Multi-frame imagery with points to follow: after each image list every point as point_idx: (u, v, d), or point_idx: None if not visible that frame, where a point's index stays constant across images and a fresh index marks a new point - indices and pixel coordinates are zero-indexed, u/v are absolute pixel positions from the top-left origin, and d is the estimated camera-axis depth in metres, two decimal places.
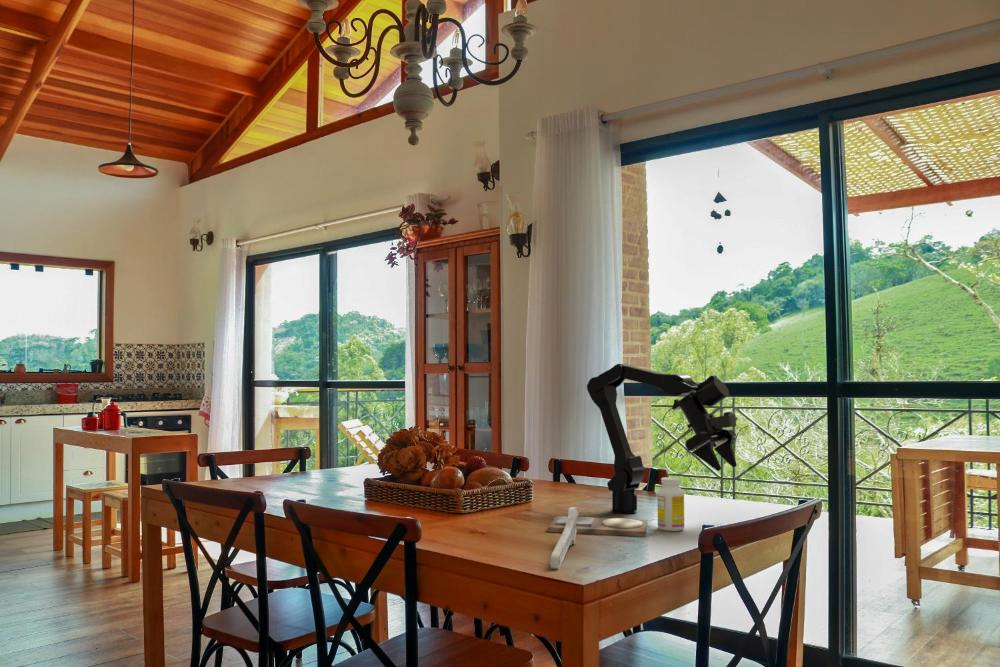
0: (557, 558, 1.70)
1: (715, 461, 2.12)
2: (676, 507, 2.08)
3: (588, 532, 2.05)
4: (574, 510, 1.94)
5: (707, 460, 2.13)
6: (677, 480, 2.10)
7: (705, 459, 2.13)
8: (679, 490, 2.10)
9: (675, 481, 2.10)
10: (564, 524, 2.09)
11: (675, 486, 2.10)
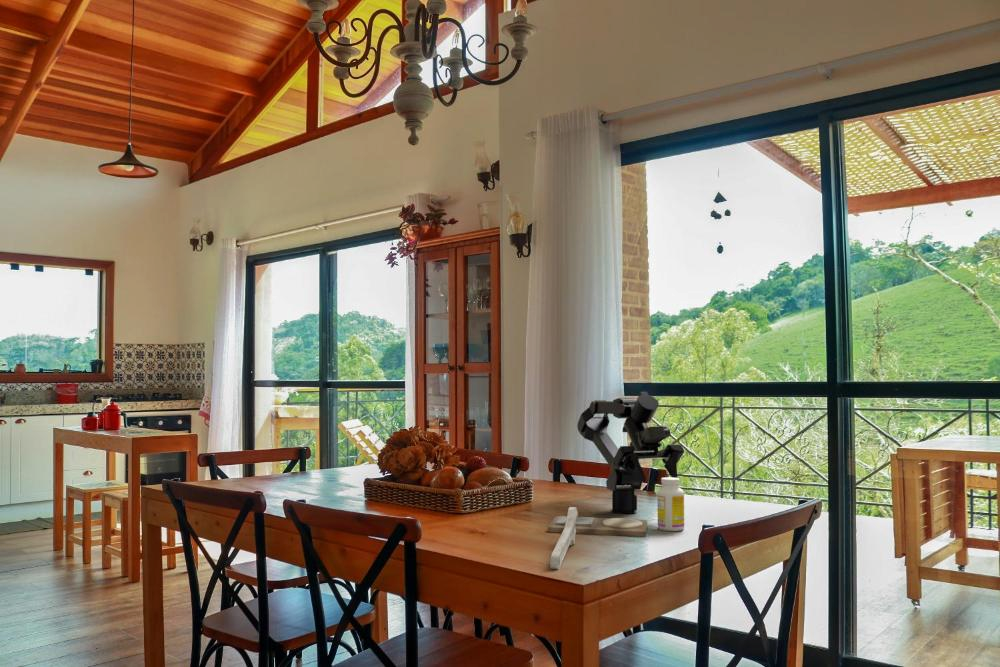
0: (557, 558, 1.70)
1: (639, 473, 2.16)
2: (676, 507, 2.08)
3: (588, 532, 2.05)
4: (574, 510, 1.94)
5: (635, 473, 2.18)
6: (677, 480, 2.10)
7: (633, 472, 2.18)
8: (679, 490, 2.10)
9: (675, 481, 2.10)
10: (564, 524, 2.09)
11: (675, 486, 2.10)
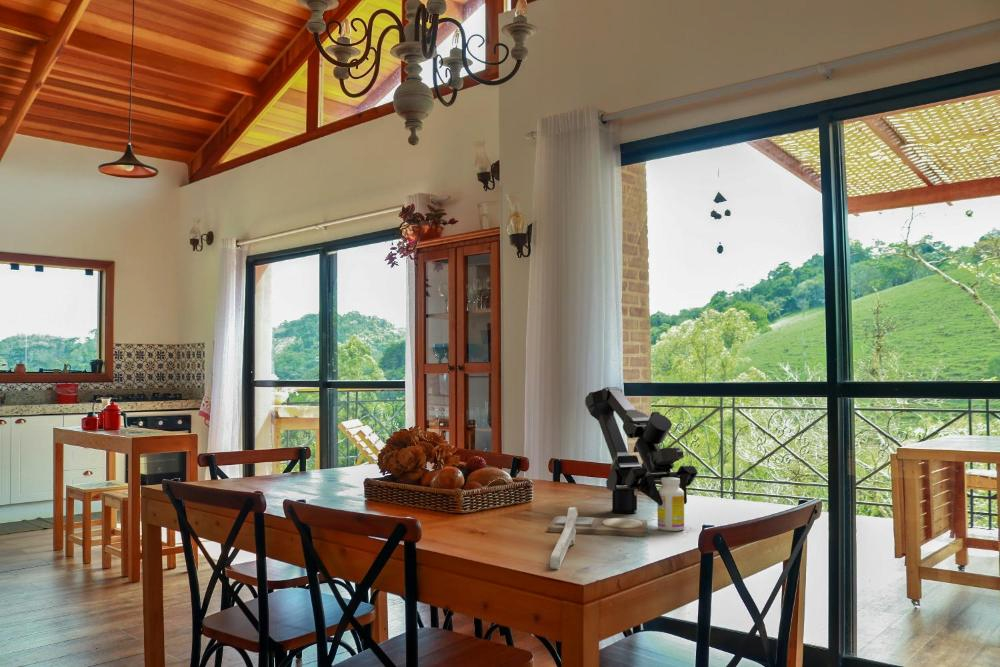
0: (557, 558, 1.70)
1: (656, 495, 2.10)
2: (676, 507, 2.08)
3: (588, 532, 2.05)
4: (573, 510, 1.94)
5: (651, 496, 2.12)
6: (677, 480, 2.10)
7: (649, 495, 2.12)
8: (679, 490, 2.10)
9: (675, 481, 2.10)
10: (564, 524, 2.09)
11: (675, 486, 2.10)
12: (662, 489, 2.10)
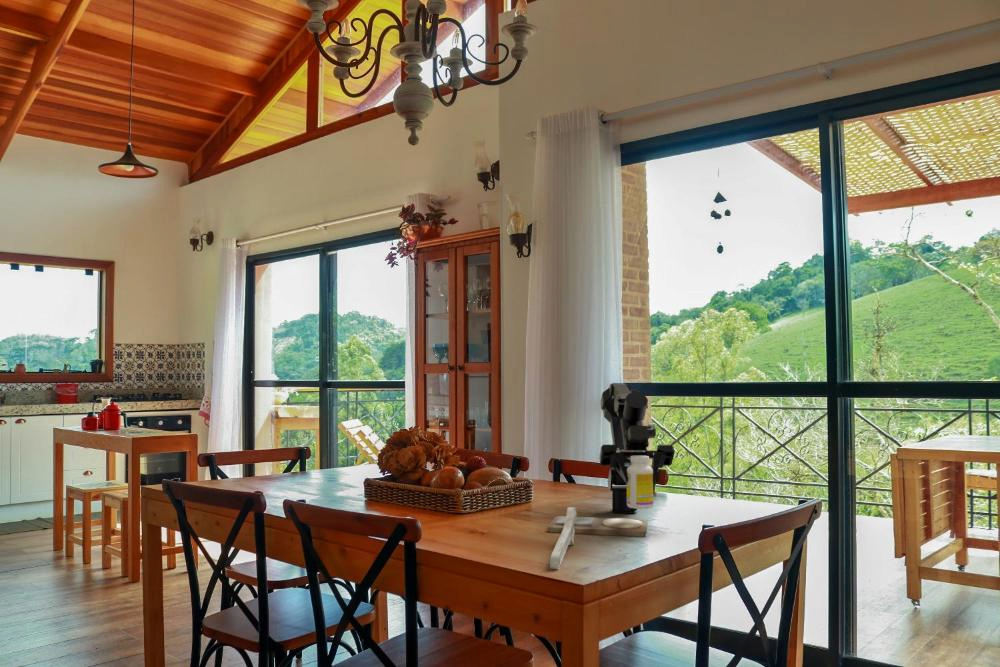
0: (557, 558, 1.70)
1: (622, 472, 2.11)
2: (640, 484, 2.07)
3: (588, 532, 2.05)
4: (572, 510, 1.94)
5: (620, 473, 2.13)
6: (644, 458, 2.09)
7: (619, 472, 2.13)
8: (645, 468, 2.08)
9: (641, 459, 2.09)
10: None
11: (641, 464, 2.09)
12: (629, 466, 2.10)
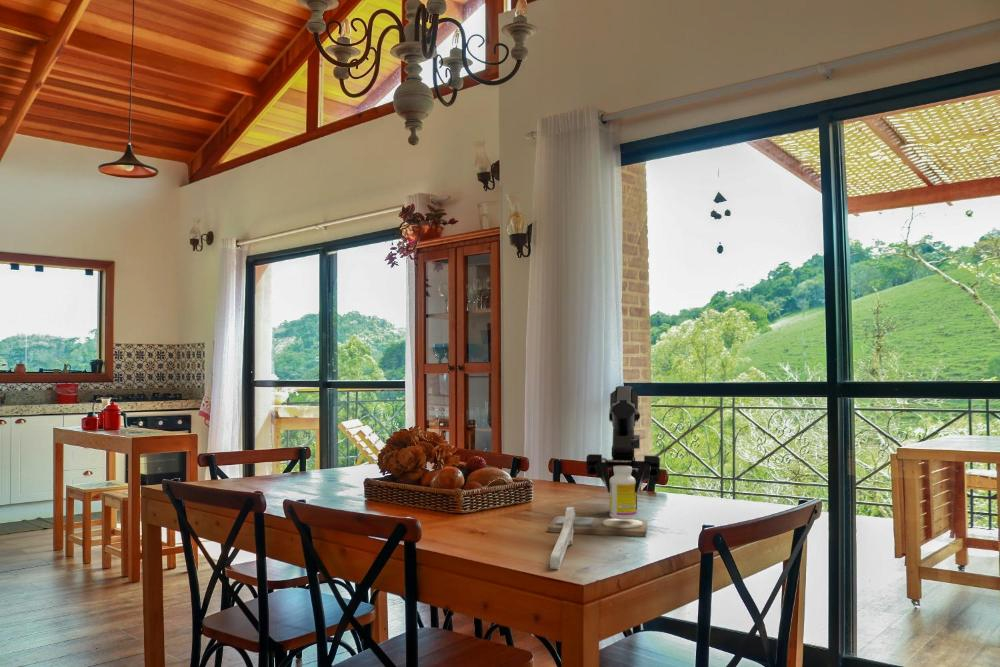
0: (557, 558, 1.70)
1: (605, 482, 2.12)
2: (620, 495, 2.08)
3: (588, 532, 2.05)
4: (571, 510, 1.94)
5: (604, 482, 2.14)
6: (625, 468, 2.09)
7: (603, 481, 2.14)
8: (626, 479, 2.09)
9: (622, 469, 2.09)
10: None
11: (623, 474, 2.09)
12: (612, 476, 2.11)
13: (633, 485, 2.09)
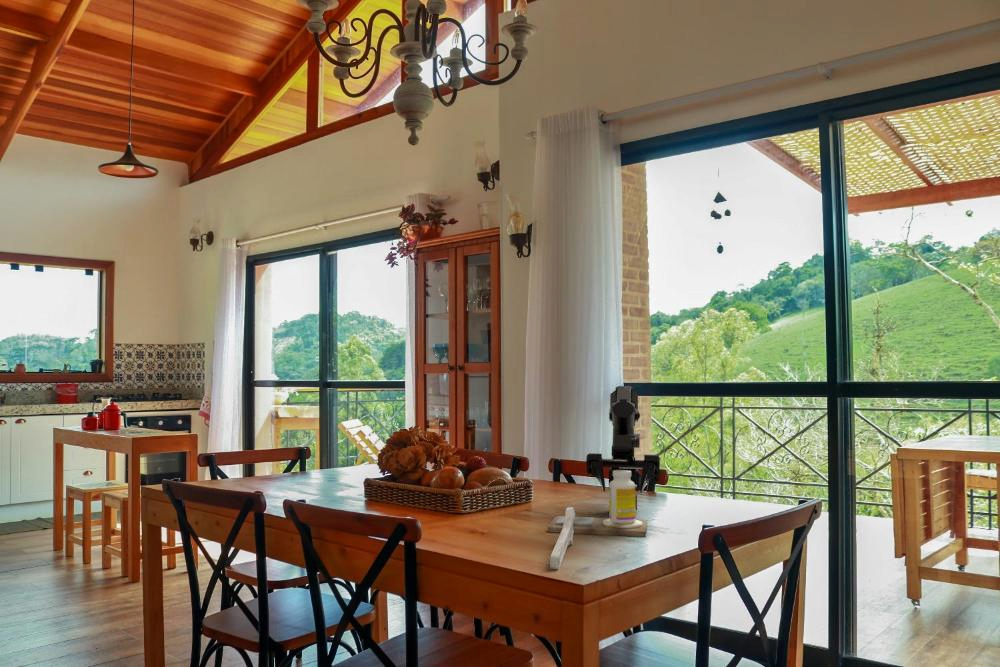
0: (557, 558, 1.70)
1: (600, 481, 2.12)
2: (620, 499, 2.08)
3: (588, 532, 2.05)
4: (571, 510, 1.94)
5: (599, 481, 2.14)
6: (624, 473, 2.09)
7: (599, 480, 2.14)
8: (625, 483, 2.09)
9: (621, 474, 2.09)
10: None
11: (622, 479, 2.09)
12: (611, 481, 2.11)
13: (632, 489, 2.09)
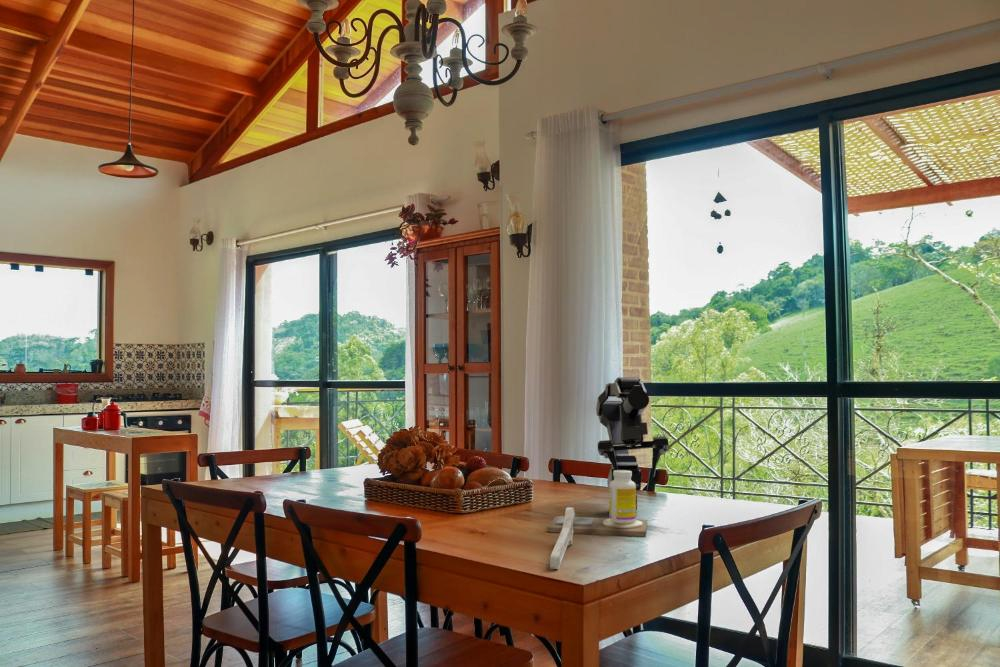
0: (557, 558, 1.70)
1: (614, 469, 2.22)
2: (620, 499, 2.08)
3: (588, 532, 2.05)
4: (571, 510, 1.94)
5: None
6: (625, 473, 2.09)
7: None
8: (626, 483, 2.09)
9: (622, 474, 2.09)
10: None
11: (623, 479, 2.09)
12: (612, 481, 2.11)
13: (633, 489, 2.09)
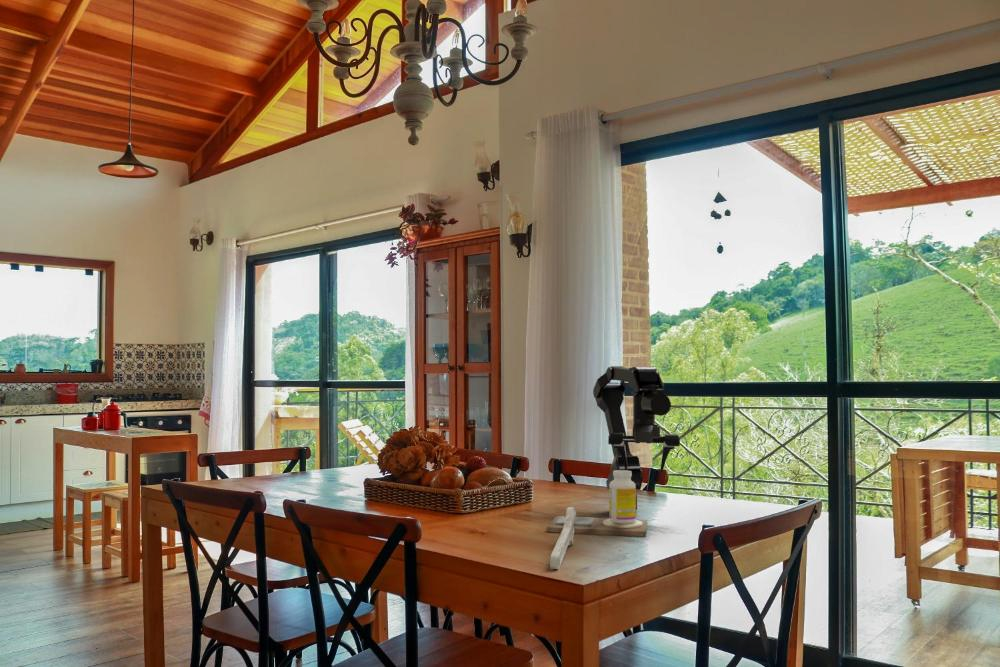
0: (557, 558, 1.70)
1: (623, 462, 2.23)
2: (620, 499, 2.08)
3: (588, 532, 2.05)
4: (572, 510, 1.94)
5: None
6: (624, 473, 2.09)
7: None
8: (626, 483, 2.09)
9: (622, 474, 2.09)
10: None
11: (622, 479, 2.09)
12: (612, 481, 2.11)
13: (633, 489, 2.09)
